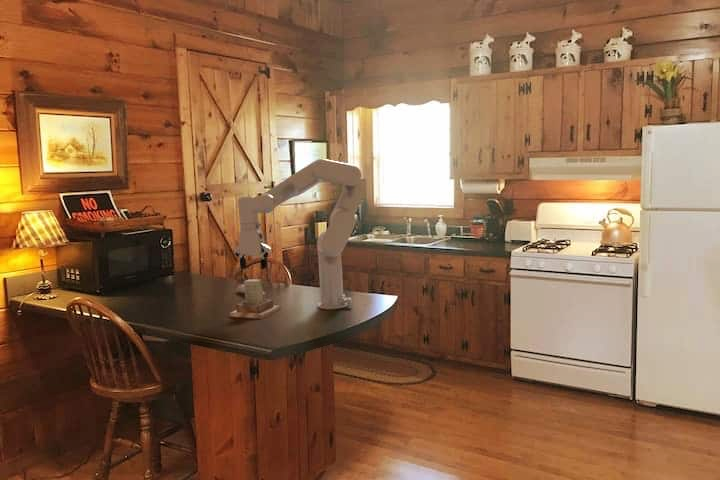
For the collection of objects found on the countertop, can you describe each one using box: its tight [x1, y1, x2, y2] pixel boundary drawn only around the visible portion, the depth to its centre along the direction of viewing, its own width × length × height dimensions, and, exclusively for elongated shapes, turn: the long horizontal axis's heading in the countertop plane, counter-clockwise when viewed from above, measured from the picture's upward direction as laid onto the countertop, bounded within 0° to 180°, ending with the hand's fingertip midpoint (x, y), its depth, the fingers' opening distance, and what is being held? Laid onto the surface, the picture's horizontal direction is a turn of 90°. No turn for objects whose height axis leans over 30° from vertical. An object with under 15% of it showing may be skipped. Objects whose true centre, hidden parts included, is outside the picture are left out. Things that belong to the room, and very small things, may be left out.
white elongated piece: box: [236, 283, 266, 299], centre depth 281 cm, size 5×7×25 cm
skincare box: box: [243, 278, 264, 305], centre depth 247 cm, size 6×4×12 cm
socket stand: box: [229, 299, 281, 319], centre depth 247 cm, size 15×15×4 cm
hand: (253, 268), depth 245 cm, fingers open, 9 cm apart
